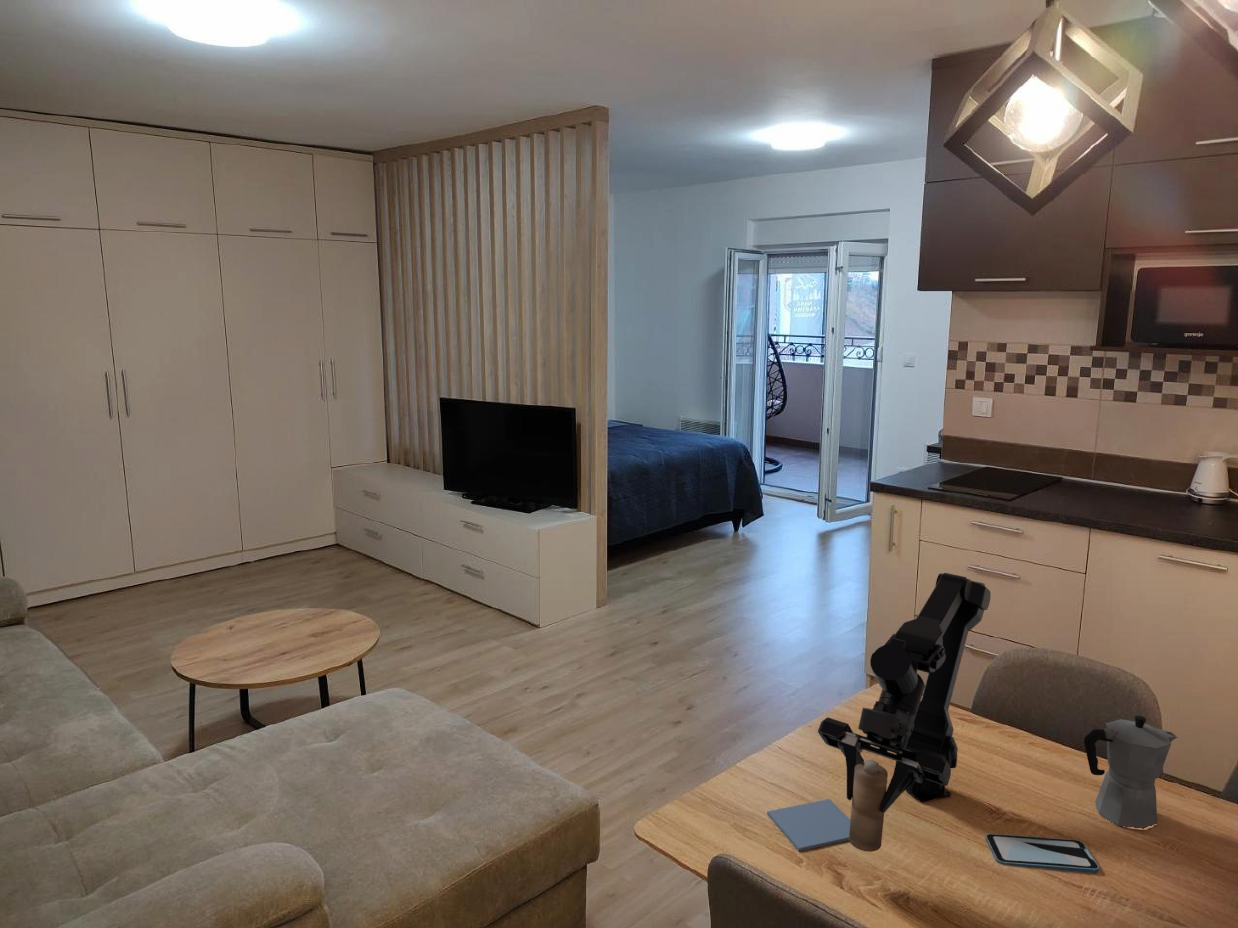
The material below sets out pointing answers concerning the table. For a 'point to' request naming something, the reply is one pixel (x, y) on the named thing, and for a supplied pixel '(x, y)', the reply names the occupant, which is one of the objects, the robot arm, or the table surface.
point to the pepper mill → (867, 806)
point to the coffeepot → (1129, 770)
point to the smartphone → (1042, 853)
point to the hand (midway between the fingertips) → (864, 805)
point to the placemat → (812, 824)
